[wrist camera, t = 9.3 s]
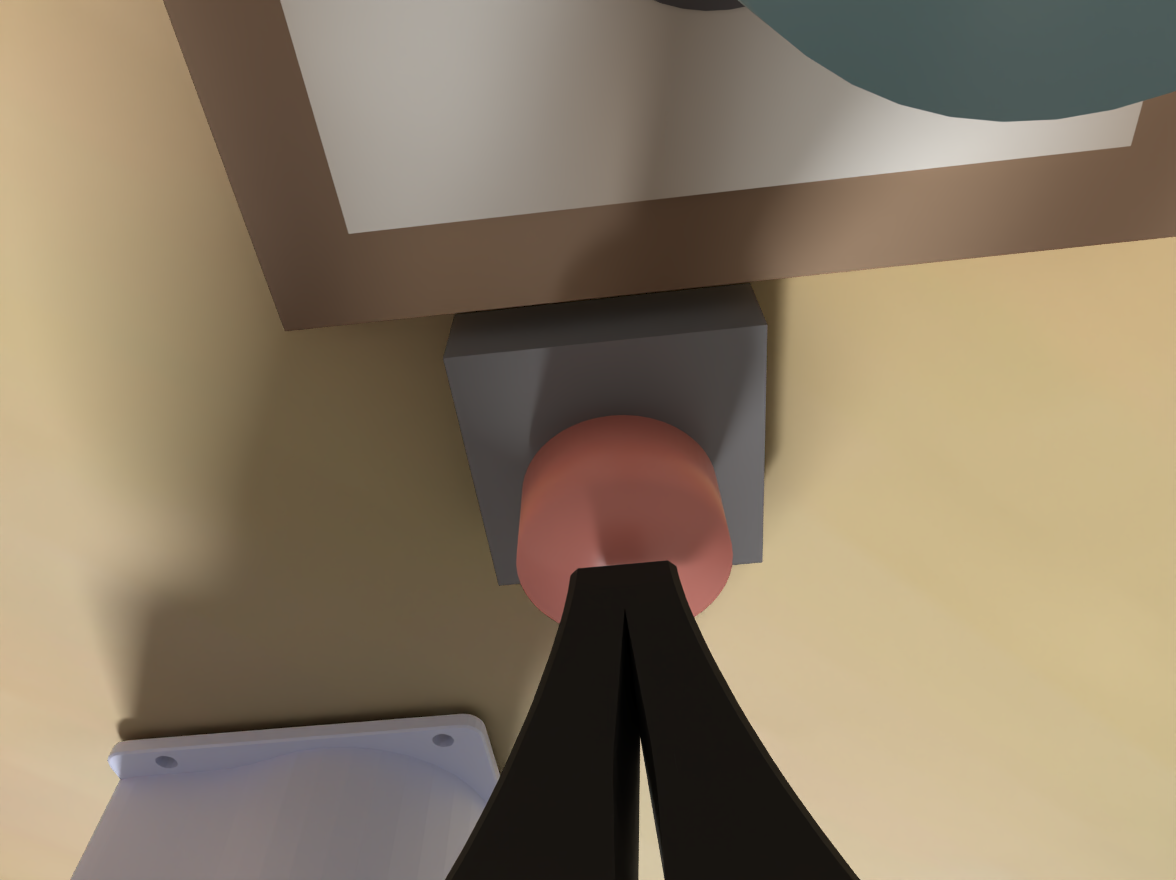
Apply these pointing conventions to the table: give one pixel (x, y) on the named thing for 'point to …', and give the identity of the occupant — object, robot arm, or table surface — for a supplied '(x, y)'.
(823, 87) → the sketch board
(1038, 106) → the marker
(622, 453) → the button
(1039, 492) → the table surface
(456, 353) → the button base
